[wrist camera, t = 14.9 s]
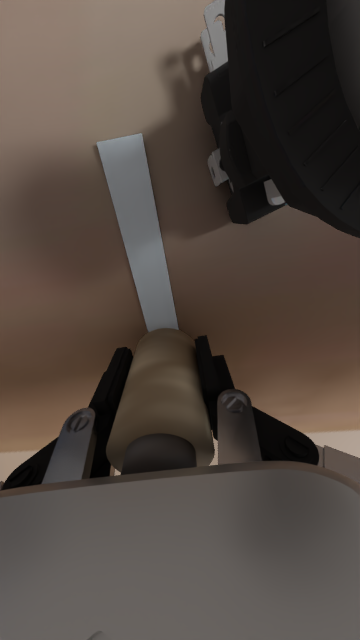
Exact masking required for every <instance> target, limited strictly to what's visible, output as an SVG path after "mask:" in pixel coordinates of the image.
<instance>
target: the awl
mask: <svg viewBox="0 0 360 640" xmlns="http://www.w3.org/2000/svg"><path fill="white" fill-rule="evenodd" d="M214 451H215V449H214V443H213V437H212V432H211V426H210V420H209V414H208V409H207V406H206V404H205V403H204V400H203V393H202V387H201V380H200V373H199V367H198V360H197V353H196V347H195V342H194V340H193V339H192V338H191V337H190V336H189V335H187V334H186V333H184V332H182V331H180V330H177V329H172V328H160V329H156V330H153V331H151V332H149V333H147V334H146V335H144V336H143V337H142V338H141V339H140V341H139V342H138V344H137V347H136V350H135V353H134V357H133V360H132V363H131V367H130V370H129V373H128V377H127V380H126V383H125V387H124V390H123V393H122V397H121V400H120V403H119V407H118V410H117V413H116V417H115V420H114V423H113V427H112V430H111V433H110V437H109V440H108V443H107V447H106V455H107V458H108V460H109V462H110V463H111V465H112V466H113V467H114V468H115V469H117V470H118V471H119V472H121V475H127V474H136V473H145V472H154V471H164V470H173V469H183V468H193V467H202V466H209V465H210V463H211V462H212V460H213V458H214Z"/></svg>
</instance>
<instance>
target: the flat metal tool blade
mask: <svg viewBox="0 0 360 640" xmlns="http://www.w3.org/2000/svg"><path fill="white" fill-rule="evenodd" d="M96 143H97V146H98V150H99V154H100V157H101V161H102V165H103V168H104V172H105V176H106V179H107V183H108V187H109V190H110V194H111V198H112V201H113V205H114V209H115V212H116V216H117V220H118V223H119V227H120V231H121V234H122V238H123V242H124V245H125V249H126V253H127V256H128V260H129V264H130V267H131V271H132V275H133V278H134V282H135V286H136V289H137V293H138V297H139V300H140V304H141V308H142V311H143V315H144V319H145V322H146V326H147V330H148V333H149V332H151V331H153V330H156V329H160V328H172V329H177V330H179V328H178V323H177V317H176V312H175V307H174V301H173V296H172V291H171V285H170V280H169V275H168V269H167V264H166V259H165V253H164V248H163V243H162V237H161V232H160V227H159V221H158V216H157V211H156V205H155V200H154V195H153V189H152V184H151V179H150V173H149V168H148V163H147V157H146V152H145V147H144V141H143V136H142V133H139V134H135V135H130V136H125V137H120V138H115V139H110V140H105V141H100V142H96Z"/></svg>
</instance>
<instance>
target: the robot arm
mask: <svg viewBox="0 0 360 640" xmlns="http://www.w3.org/2000/svg"><path fill="white" fill-rule="evenodd" d="M194 340H195V347H196V353H197V360H198V367H199V373H200V380H201V387H202V393H203V400H204V403H205V404H206V406H207V409H208V414H209V420H210V426H211V430H212V432H213V437H214V439H216V440H217V441H218V465H212V466H202V467H193V468H183V469H173V470H164V471H154V472H145V473H136V474H127V475H118V476H114V473H115V468H114V467H113V466H112V465H111V463H110V462H109V460H108V458H107V455H106V447H107V443H108V440H109V437H110V433H111V430H112V427H113V423H114V420H115V417H116V413H117V410H118V407H119V403H120V400H121V397H122V393H123V390H124V387H125V383H126V380H127V377H128V373H129V370H130V367H131V363H132V360H133V355H132V352H131V350H130V349H128V348H127V347H123V348H117V349H116V351H115V353H114V355H113V358H112V360H111V362H110V364H109V367H108V369H107V371H106V372H104V374H103V376H102V378H101V380H100V382H99V384H98V387H97V389H96V391H95V393H94V395H93V398H92V400H91V402H90V404H89V406H88V408H82V409H80V410H77V411H76V412H74V413H73V414H71V415H70V416H69V417H68V418H67V420H66V421H65V423H64V424H63V427H62V430H61V432H60V435H59V437H57V438H56V439H55V440H53V441H52V442H51V443H49V444H48V445H47V446H45V447H44V448H43V449H41V450H40V451H39V452H37V453H36V454H35V455H33V456H32V457H31V458H29V459H28V460H27V461H25V462H24V463H23V464H21V465H20V466H19V467H18V468H16V469H15V470H14V471H13V472H12V473H11V474H10V476H9V477H8V478H7V480H6V481H5V483H4V482H2V481H1V482H0V640H360V458H358V457H355V456H352V455H350V454H347V453H344V452H342V451H339V450H336V449H333V448H331V447H328V446H326V445H325V446H324V448H323V447H320V446H318V445H315V444H314V442H313V441H312V440H311V439H309V437H307V436H306V435H304V434H303V433H301V432H299V431H298V430H296V429H294V428H292V427H290V426H288V425H286V424H284V423H283V422H281V421H279V420H277V419H275V418H273V417H271V416H270V415H268V414H266V413H264V412H262V411H260V410H258V409H256V408H255V407H253V406H252V404H251V400H250V398H249V397H248V395H247V394H245V393H244V392H243V391H240V390H237V389H235V387H234V384H233V381H232V379H231V376H230V373H229V370H228V367H227V364H226V361H225V358H224V356H223V355H220V356H213V357H212V354H211V351H210V347H209V343H208V339H207V335H205V336H198V339H194Z"/></svg>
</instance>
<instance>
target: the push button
mask: <svg viewBox="0 0 360 640" xmlns="http://www.w3.org/2000/svg"><path fill="white" fill-rule="evenodd" d="M218 16H223V17H224V18H225V30H223V26H222V22H221V21H219V20H218V21H216V22H215V23H214V21H215V19H216V17H218ZM204 18H205V22H206V26H207V28H206V29H205V30H203V31H202V33H201V37H200V38H201V42H202V46H203V49H204V53H205V57H206V60H207V64H208V68H209V71H210V73H209V74H208V75H206V76H205V79H204V84H203V88H202V93H201V103H202V108H203V111H204V114H205V118H206V120H207V122H208V124H209V125H211V127H212V130H213V134H214V137H215V140H216V144H217V147H218V149H217V150H215V151H213V152H212V154H211V155H210V157H209V159H208V167H209V170H210V173H211V176H212V179H213V182H214V185H215V186H216V187H217V186H218V185H220V184H221V183H222V182H224V181H226V180H227V181H228V184H229V188H230V191H231V195H232V196H231V197H230V199H229V201H228V202H227V209H228V212H229V215H230V218H231V220H232V222H233V223H238V224H249V223H251V222H253V221H255V220H257V219H259V218H261V217H263V216H265V215H267V214H269V213H271V212H273V211H275V210H277V209H279V208H281V207H283V206H285V205H287V204H288V205H289V206H290V207H293V208H295V209H298V210H300V211H303V212H306V213H308V214H311V215H314V216H316V217H318V218H320V219H321V220H322V221H324V222H326V223H327V224H329V225H331V226H333V227H334V228H336V229H338V230H340V231H342V232H345V233H347V234H350V235H352V236H355V237H358V238H360V0H215V1H213V2H212V3H211V4H209V5H208V6H206V7H205V11H204ZM210 42H211V45H212V49H213V53H214V54H213V53H211V51H210V47H209V45H210ZM213 170H214V172H213ZM214 173H215V175H214Z"/></svg>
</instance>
